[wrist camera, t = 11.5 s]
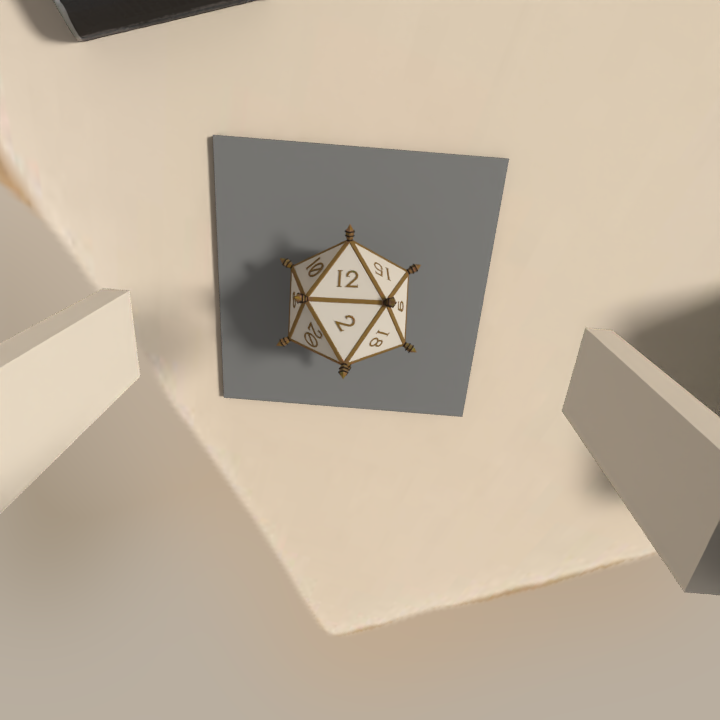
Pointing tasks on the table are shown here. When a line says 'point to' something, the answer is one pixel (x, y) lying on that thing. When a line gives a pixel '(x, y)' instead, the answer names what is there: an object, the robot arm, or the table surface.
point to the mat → (374, 231)
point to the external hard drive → (128, 14)
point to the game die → (348, 303)
